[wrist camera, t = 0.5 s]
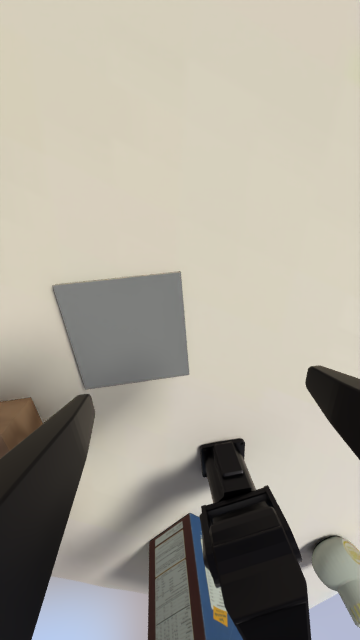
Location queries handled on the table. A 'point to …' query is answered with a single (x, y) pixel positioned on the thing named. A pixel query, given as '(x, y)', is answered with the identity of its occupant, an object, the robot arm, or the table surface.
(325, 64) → the table surface
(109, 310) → the slate pad
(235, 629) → the protein box
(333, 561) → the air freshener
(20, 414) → the walnut cube
